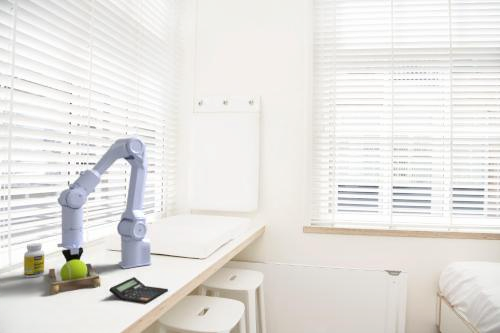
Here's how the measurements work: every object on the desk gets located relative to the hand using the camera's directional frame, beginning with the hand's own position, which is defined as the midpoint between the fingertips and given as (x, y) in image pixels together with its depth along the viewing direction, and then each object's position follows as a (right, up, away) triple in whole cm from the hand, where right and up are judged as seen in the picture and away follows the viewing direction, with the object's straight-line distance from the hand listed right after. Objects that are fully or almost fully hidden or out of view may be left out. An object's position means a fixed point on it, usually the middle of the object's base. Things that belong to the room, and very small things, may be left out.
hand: (72, 273), depth 105 cm
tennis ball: (+2, -2, -4) cm, 5 cm away
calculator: (+24, -2, -13) cm, 27 cm away
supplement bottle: (-15, -2, +5) cm, 15 cm away
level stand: (0, -2, 0) cm, 2 cm away
